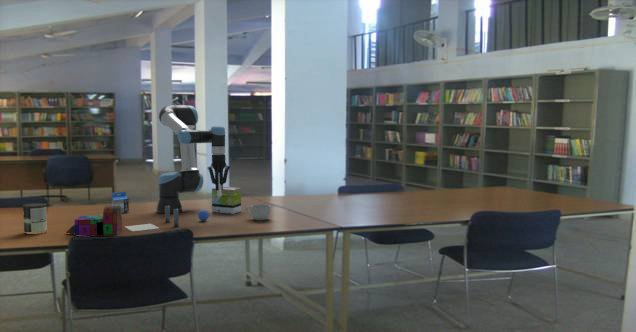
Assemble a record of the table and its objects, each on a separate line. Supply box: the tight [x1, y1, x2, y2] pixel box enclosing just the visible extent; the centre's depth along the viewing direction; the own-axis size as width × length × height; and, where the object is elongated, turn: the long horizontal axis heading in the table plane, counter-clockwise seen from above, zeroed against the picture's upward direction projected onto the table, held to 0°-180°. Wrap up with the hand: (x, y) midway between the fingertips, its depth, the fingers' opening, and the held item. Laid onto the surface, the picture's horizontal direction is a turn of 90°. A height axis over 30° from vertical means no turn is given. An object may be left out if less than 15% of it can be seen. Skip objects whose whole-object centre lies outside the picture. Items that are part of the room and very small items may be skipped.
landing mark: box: [124, 223, 160, 232], centre depth 285 cm, size 14×14×1 cm
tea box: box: [211, 186, 242, 215], centre depth 333 cm, size 15×10×15 cm
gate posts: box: [164, 206, 180, 228], centre depth 294 cm, size 16×3×9 cm, turn 35°
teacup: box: [244, 203, 271, 222], centre depth 309 cm, size 14×11×8 cm
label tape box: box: [111, 191, 130, 214], centre depth 328 cm, size 9×4×12 cm, turn 131°
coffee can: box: [22, 202, 48, 232], centre depth 272 cm, size 10×10×14 cm
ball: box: [197, 209, 210, 222], centre depth 304 cm, size 6×6×6 cm
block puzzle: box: [65, 204, 123, 237], centre depth 273 cm, size 25×17×14 cm
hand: (219, 196), depth 309 cm, fingers closed
